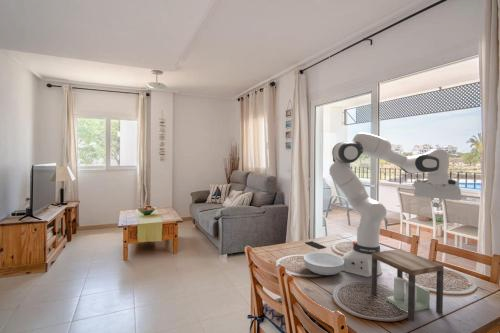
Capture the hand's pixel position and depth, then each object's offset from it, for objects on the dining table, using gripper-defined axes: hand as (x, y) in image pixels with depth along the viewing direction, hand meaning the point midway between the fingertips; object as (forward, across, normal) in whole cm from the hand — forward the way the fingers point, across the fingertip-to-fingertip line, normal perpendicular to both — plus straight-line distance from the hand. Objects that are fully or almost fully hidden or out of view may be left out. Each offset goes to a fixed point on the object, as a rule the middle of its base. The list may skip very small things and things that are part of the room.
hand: (435, 207), depth 141 cm
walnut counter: (+40, -9, -38) cm, 56 cm away
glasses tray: (+40, -8, -38) cm, 55 cm away
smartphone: (+37, -67, +15) cm, 78 cm away
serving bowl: (+40, -48, -25) cm, 67 cm away
